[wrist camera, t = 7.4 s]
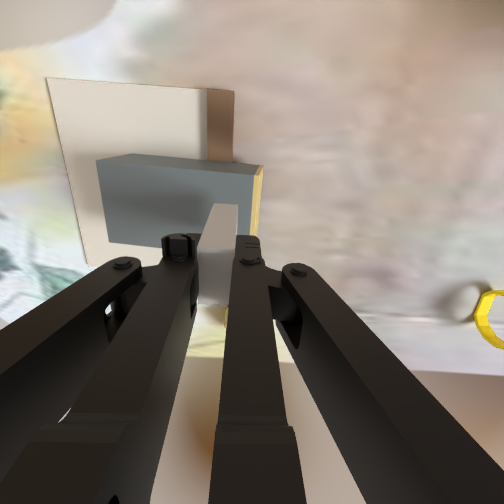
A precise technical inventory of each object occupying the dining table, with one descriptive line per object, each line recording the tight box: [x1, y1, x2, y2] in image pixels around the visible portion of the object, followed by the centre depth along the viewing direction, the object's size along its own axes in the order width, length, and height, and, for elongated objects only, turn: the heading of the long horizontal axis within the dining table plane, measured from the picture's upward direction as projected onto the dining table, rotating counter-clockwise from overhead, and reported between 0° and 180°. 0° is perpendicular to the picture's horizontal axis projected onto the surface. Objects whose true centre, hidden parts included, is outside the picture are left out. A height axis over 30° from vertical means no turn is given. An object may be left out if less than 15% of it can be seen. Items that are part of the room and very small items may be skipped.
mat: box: [47, 78, 207, 267], centre depth 24 cm, size 16×12×1 cm
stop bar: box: [207, 89, 234, 163], centre depth 24 cm, size 16×2×1 cm, turn 176°
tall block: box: [95, 153, 263, 248], centre depth 21 cm, size 6×5×11 cm
